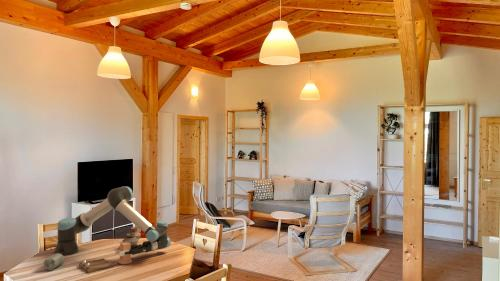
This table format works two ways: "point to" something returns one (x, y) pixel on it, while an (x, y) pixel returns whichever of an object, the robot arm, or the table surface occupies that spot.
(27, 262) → the table surface
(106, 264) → the plate
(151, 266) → the table surface
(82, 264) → the dowels
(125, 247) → the tall pillar on disc
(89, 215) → the robot arm
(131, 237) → the pottery
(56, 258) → the spool
